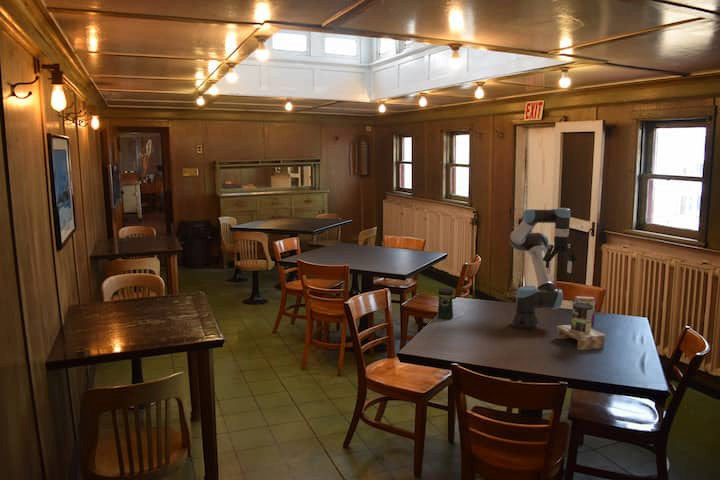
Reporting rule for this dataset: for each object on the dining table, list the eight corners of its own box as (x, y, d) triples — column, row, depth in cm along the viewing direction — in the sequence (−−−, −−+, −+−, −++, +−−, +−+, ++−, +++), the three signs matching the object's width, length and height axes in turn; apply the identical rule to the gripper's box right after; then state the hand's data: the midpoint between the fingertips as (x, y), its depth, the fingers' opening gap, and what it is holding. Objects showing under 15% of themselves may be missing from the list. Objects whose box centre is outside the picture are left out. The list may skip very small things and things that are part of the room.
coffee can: (575, 333, 308) (577, 308, 306) (567, 327, 318) (569, 302, 316) (594, 333, 309) (596, 307, 306) (585, 327, 319) (587, 302, 317)
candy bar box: (574, 324, 347) (576, 298, 344) (572, 322, 352) (574, 295, 349) (594, 325, 346) (596, 298, 343) (591, 323, 351) (593, 296, 348)
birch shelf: (578, 350, 303) (579, 337, 302) (555, 337, 322) (556, 325, 321) (604, 347, 307) (605, 335, 306) (580, 335, 326) (581, 323, 325)
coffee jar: (453, 316, 359) (455, 287, 356) (452, 320, 351) (453, 290, 348) (438, 315, 361) (439, 286, 358) (436, 318, 354) (437, 289, 351)
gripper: (545, 237, 316) (543, 275, 319) (584, 236, 323) (581, 273, 326) (538, 235, 323) (535, 272, 326) (576, 234, 330) (573, 270, 333)
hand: (558, 273), depth 326 cm, fingers open, 13 cm apart
